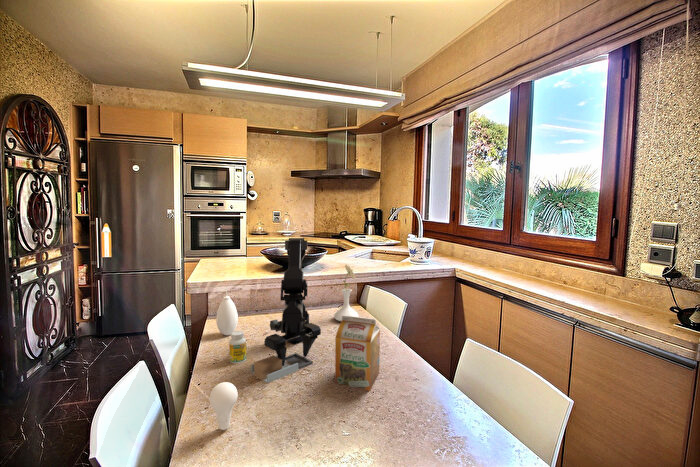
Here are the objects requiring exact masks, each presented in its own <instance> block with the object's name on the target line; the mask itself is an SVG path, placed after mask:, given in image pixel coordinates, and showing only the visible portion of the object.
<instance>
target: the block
mask: <svg viewBox="0 0 700 467" xmlns="http://www.w3.org/2000/svg"><path fill="white" fill-rule="evenodd" d="M276 356H277V355H271V356H268V357H265V358H262V359H260V360H257V361H254V362H253V364H254V373H253V375H254V376H255V377H257V378H258V379H260V381H264V380H265V379H267V375H268V374H271V373H273V372H276V371H278V370H281V369H282V360H281V359H280V358H278V357H276Z"/></svg>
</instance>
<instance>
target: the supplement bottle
mask: <svg viewBox="0 0 700 467" xmlns="http://www.w3.org/2000/svg"><path fill="white" fill-rule="evenodd" d="M244 334H245V332H244V331H243V330H235V331H234V332H232V333H231V334H230V340H229V341H228V346H229V349H228V350H229V362H230V363H231V364H236V365H237V364H242V363H245V361H247V359H248V358H247V338H246V337H244V336H245V335H244Z"/></svg>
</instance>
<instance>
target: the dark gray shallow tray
mask: <svg viewBox="0 0 700 467" xmlns="http://www.w3.org/2000/svg"><path fill="white" fill-rule="evenodd" d="M285 362H286V363H287V362H288V364H289V363H290V365H293V364H296V363H298V369H300V370H301V369H303V368H305V367H309V366H312V365H313V363H314V362H313V360H310V359H309V358H306V357H304V356H303V355H301V354H299V353H297V352H295V353H292V354H289V355H286V358H285Z"/></svg>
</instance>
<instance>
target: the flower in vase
mask: <svg viewBox="0 0 700 467" xmlns="http://www.w3.org/2000/svg"><path fill="white" fill-rule="evenodd" d="M344 267H345V270H346V272H347V274H346V276H345V279H344V280H343V283H344V288H342V289H340V291H341V293H342V295H343V306H342V307H341V308H339V309H338V310H336V312H335V313H334V314H333V318H334V319H335V320H336V321H338V322H341V321H342V316H343V315H346V316H354V317H360V316H359V314H358V312H357V311H355V310H354V309H353V308H352V307H351V306H350V295H351V293H352V291H353V289H351V288H347V287H348V286H349V285H351V284H350V283H348V284H346V280H347V278H348V276H350V277H351V278H352V279H353V280H356V274H355V273H354V270H353V269H352V268H351V267H350V265H348V264H345V265H344Z"/></svg>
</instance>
